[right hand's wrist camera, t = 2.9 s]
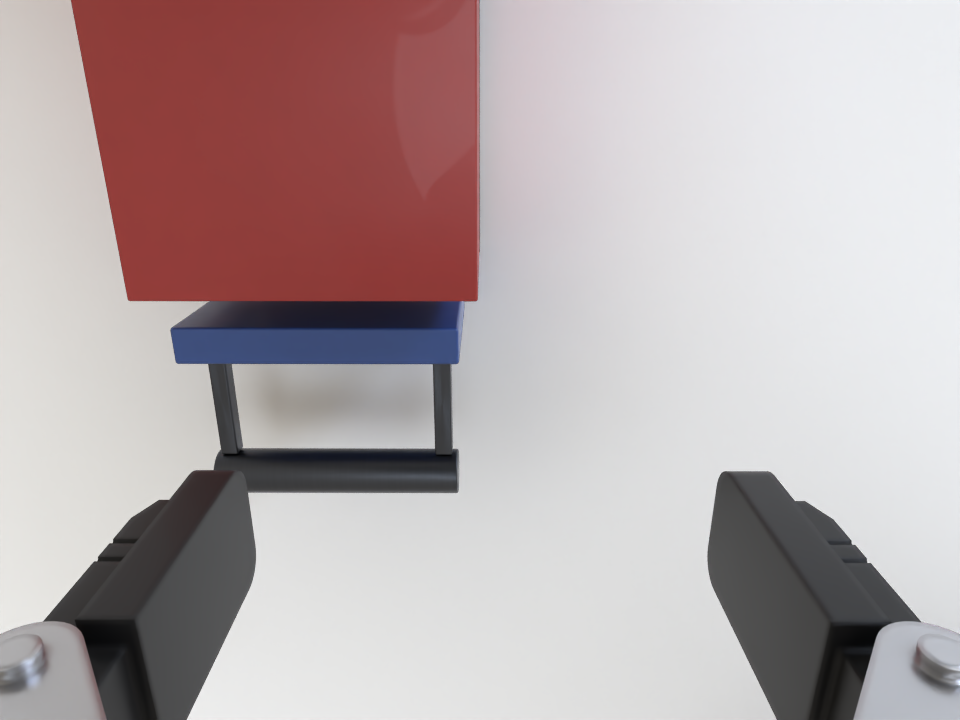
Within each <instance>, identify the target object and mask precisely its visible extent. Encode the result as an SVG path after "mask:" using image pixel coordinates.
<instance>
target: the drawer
mask: <svg viewBox="0 0 960 720" xmlns="http://www.w3.org/2000/svg"><path fill="white" fill-rule="evenodd" d="M463 316H464V301H209V302H208V303H207V304H205V305H204V306H202V307H201V308H199V309H198V310H196V311H195V312H194V313H192V314H191V315H189V316H188V317H186V318H185V319H184V320H182V321H181V322H179V323H178V324H176V325H175V326H174V327H172V328H171V336H172V342H173V348H174V354H175V360H176V363H178V364H208V365H209V372H210V378H211V385H212V392H213V398H214V405H215V411H216V418H217V424H218V431H219V438H220V444H221V450H220V451H219V453H218V455H217V457H216V460H215V465H214V470H239V471H241V472H242V473H243V474H244V476H245V479H246V484H247V490H248V493H458V490H459V451H458V449H453V428H452V368H451V364H458V362H459V356H460V346H461V336H462V326H463ZM231 364H433V386H434V423H435V449H286V448H242V447H243V444H242V437H241V429H240V422H239V415H238V408H237V401H236V393H235V386H234V379H233V372H232V365H231Z"/></svg>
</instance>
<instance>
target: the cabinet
mask: <svg viewBox="0 0 960 720" xmlns="http://www.w3.org/2000/svg"><path fill="white" fill-rule="evenodd" d="M71 3H72V8H73V14H74V19H75V24H76V29H77V35H78V40H79V45H80V50H81V56H82V61H83V66H84V71H85V77H86V82H87V87H88V92H89V98H90V103H91V108H92V113H93V119H94V124H95V129H96V134H97V140H98V145H99V150H100V156H101V161H102V166H103V171H104V177H105V182H106V187H107V192H108V198H109V203H110V208H111V213H112V219H113V224H114V229H115V234H116V240H117V245H118V250H119V255H120V261H121V266H122V271H123V276H124V282H125V287H126V292H127V298H128V300H129V301H477V300H478V277H479V252H480V0H71Z"/></svg>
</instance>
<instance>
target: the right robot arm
mask: <svg viewBox="0 0 960 720" xmlns="http://www.w3.org/2000/svg"><path fill="white" fill-rule="evenodd" d="M255 563H256V548H255V540H254V533H253V526H252V519H251V512H250V505H249V498H248V490H247V484H246V479H245V476H244V474H243V473H242V472H241V471H239V470H196V471H193V472H192V473H191V474H190V475H189V476H188V477H187V478H186V480H185V481H184V482H183V483H182V485H181V486H180V487H179V488H178V490H177V491H176V492H175V494H174V495H173V496H172V497H171V499H170V500H158V501H157V502H155V503H154V504H152V505H151V506H149V507H148V508H146V509H144V510H143V511H141V512H140V513H138V514H137V515H135V516H134V517H132V518H131V519H130V520H129V521H128V522H127V524H126V525H125V526H124V527H123V528H122V529H121V531H120V532H119V533H118V534H117V535H116V536H115V538H114V539H113V543H110V544H109V545H108V546H107V547H106V548H105V549H104V551H103V552H102V553H101V554H100V555H99V556H98V561H97V562H93V564H92V565H91V566H90V567H89V568H88V569H87V571H86V572H85V573H84V574H83V575H82V576H81V578H80V579H79V580H78V581H77V582H76V584H75V585H74V586H73V587H72V588H71V589H70V591H69V592H68V593H67V594H66V595H65V596H64V598H63V599H62V600H61V601H60V602H59V603H58V605H57V606H56V607H55V608H54V609H53V611H52V612H51V613H50V614H49V615H48V616H47V618H46V619H45V620H44V621H43V622H38V623H32V624H28V625H24V626H21V627H18V628H15V629H12V630H9V631H7V632H4V633H2V634H0V720H187V718H188V716H189V714H190V711H191V709H192V707H193V705H194V703H195V701H196V699H197V697H198V695H199V693H200V691H201V689H202V686H203V684H204V682H205V680H206V678H207V676H208V674H209V672H210V670H211V668H212V666H213V664H214V661H215V659H216V657H217V655H218V653H219V651H220V649H221V647H222V645H223V643H224V641H225V638H226V636H227V634H228V632H229V630H230V628H231V626H232V624H233V622H234V620H235V618H236V616H237V613H238V611H239V609H240V607H241V605H242V603H243V601H244V599H245V597H246V595H247V593H248V591H249V588H250V586H251V583H252V580H253V576H254V571H255ZM708 570H709V576H710V580H711V583H712V586H713V589H714V591H715V593H716V595H717V597H718V599H719V601H720V603H721V605H722V607H723V609H724V611H725V614H726V616H727V618H728V620H729V622H730V624H731V626H732V628H733V630H734V632H735V634H736V636H737V638H738V640H739V642H740V644H741V646H742V649H743V651H744V653H745V655H746V657H747V659H748V661H749V663H750V665H751V667H752V669H753V671H754V673H755V675H756V677H757V679H758V681H759V684H760V686H761V688H762V690H763V692H764V694H765V696H766V698H767V700H768V702H769V704H770V706H771V708H772V710H773V712H774V714H775V716H776V719H777V720H960V634H958V633H956V632H953V631H951V630H948V629H945V628H942V627H939V626H936V625H932V624H928V623H922V622H921V621H920V620H919V619H918V618H917V617H916V615H915V614H914V613H913V612H912V611H911V610H910V608H909V607H908V606H907V605H906V604H905V603H904V601H903V600H902V599H901V598H900V597H899V596H898V594H897V593H896V592H895V591H894V590H893V589H892V587H891V586H890V585H889V584H888V583H887V582H886V580H885V579H884V578H883V577H882V576H881V575H880V573H879V572H878V571H877V570H876V569H875V568H874V566H873V565H872V564H871V563H867V558H866V557H865V556H864V555H863V554H862V552H861V551H860V550H859V549H858V548H857V547H856V545H852V543H851V540H850V538H849V537H848V536H847V535H846V534H845V533H844V531H843V530H842V529H841V528H840V527H839V526H838V524H837V523H836V522H835V521H834V520H833V519H832V518H830V517H829V516H827V515H825V514H824V513H822V512H821V511H819V510H818V509H816V508H815V507H813V506H811V505H810V504H808V503H807V502H805V501H794V500H793V498H792V497H791V496H790V495H789V493H788V492H787V491H786V490H785V488H784V487H783V486H782V485H781V483H780V482H779V481H778V480H777V478H776V477H775V476H774V475H773V474H772V473H771V472H768V471H725V472H723V473H721V475H720V477H719V479H718V483H717V489H716V496H715V503H714V510H713V517H712V524H711V531H710V538H709V545H708Z"/></svg>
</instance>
